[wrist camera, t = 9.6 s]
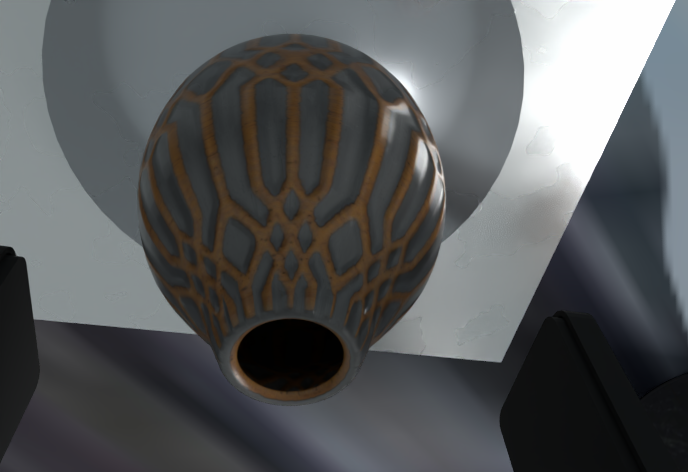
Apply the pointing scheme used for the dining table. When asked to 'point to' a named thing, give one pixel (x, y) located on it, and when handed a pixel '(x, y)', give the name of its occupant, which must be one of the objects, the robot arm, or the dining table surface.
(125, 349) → the dining table surface
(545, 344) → the robot arm
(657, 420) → the travel mug
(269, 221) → the vase
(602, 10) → the flange plate
